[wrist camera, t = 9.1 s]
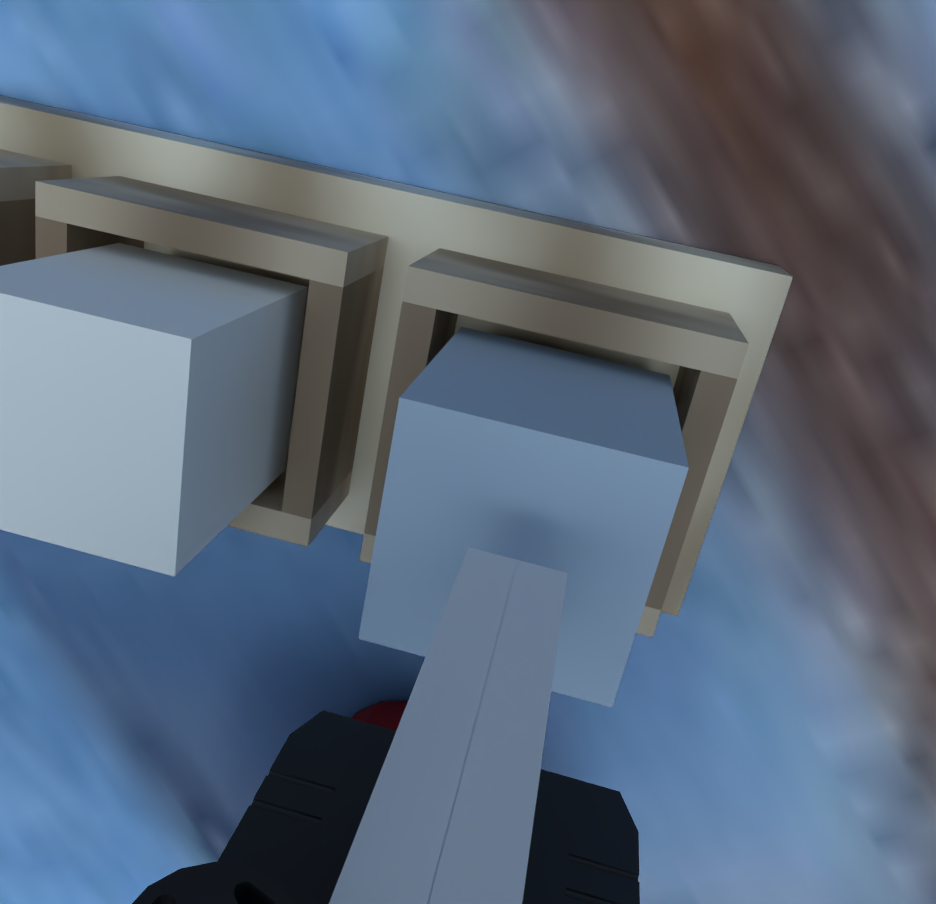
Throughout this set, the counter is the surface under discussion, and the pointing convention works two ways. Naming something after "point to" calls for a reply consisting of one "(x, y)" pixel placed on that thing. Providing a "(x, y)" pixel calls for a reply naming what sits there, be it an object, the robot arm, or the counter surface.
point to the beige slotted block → (400, 299)
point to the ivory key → (141, 399)
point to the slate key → (529, 494)
